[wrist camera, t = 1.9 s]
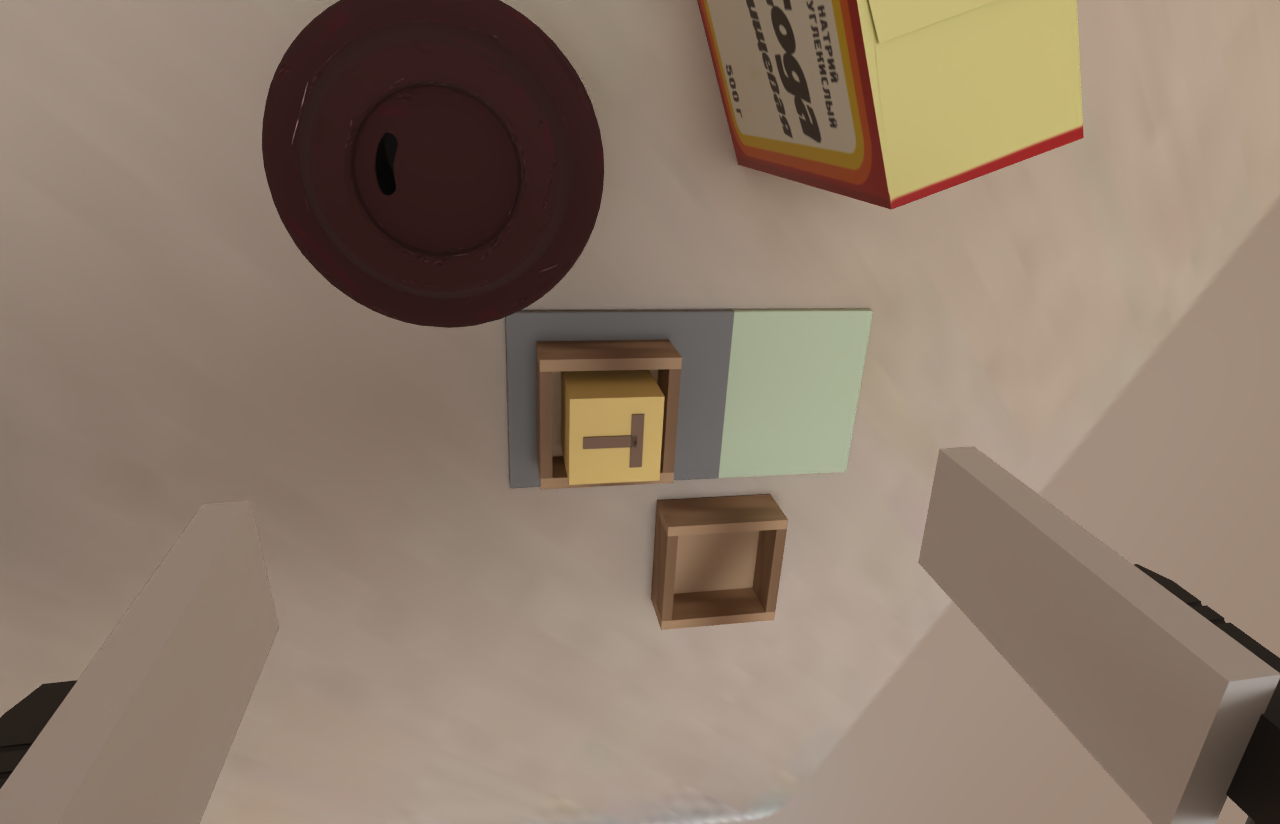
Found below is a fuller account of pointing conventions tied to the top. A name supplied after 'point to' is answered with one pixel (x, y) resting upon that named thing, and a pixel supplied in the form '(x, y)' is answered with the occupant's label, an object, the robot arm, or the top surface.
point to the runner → (719, 384)
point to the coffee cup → (433, 157)
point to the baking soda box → (894, 89)
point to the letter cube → (611, 426)
